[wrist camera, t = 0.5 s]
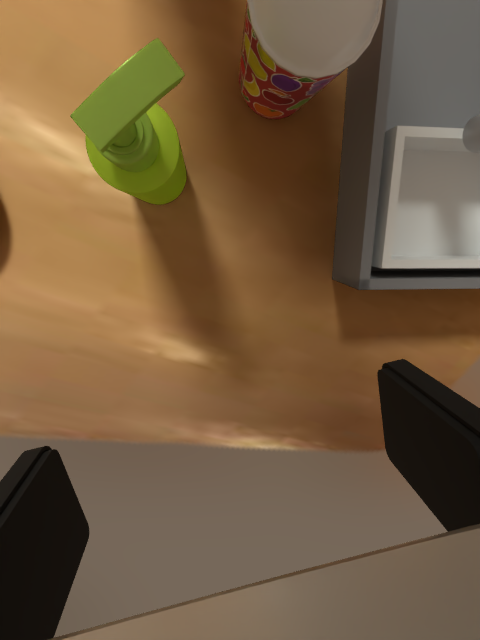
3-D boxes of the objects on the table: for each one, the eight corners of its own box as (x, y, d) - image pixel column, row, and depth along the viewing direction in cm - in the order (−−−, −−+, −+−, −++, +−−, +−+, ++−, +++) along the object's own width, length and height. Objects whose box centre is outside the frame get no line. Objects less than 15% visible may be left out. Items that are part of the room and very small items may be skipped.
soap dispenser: (206, 171, 36) (214, 108, 17) (155, 216, 36) (105, 207, 17) (166, 120, 34) (123, -14, 15) (113, 168, 35) (7, 98, 16)
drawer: (367, 129, 35) (442, 86, 24) (505, 134, 37) (633, 96, 26) (355, 262, 39) (416, 276, 28) (482, 262, 40) (587, 275, 29)
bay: (354, -22, 33) (394, -85, 26) (539, -6, 35) (620, -61, 28) (332, 279, 40) (358, 289, 33) (486, 277, 42) (541, 287, 35)
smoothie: (287, 15, 33) (408, -275, 14) (328, 101, 35) (480, -45, 16) (212, 66, 34) (229, -148, 14) (257, 148, 36) (325, 60, 17)
